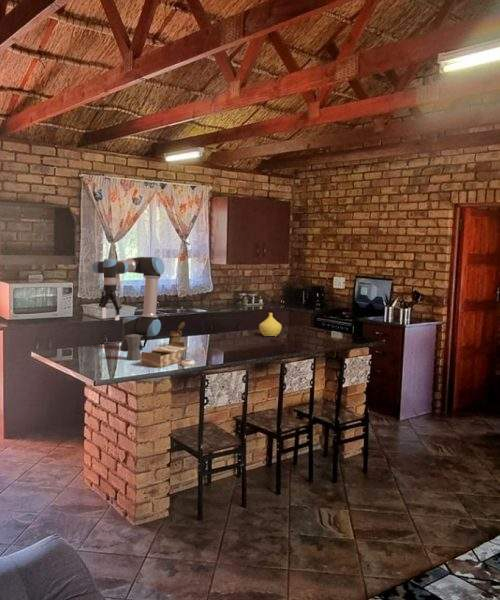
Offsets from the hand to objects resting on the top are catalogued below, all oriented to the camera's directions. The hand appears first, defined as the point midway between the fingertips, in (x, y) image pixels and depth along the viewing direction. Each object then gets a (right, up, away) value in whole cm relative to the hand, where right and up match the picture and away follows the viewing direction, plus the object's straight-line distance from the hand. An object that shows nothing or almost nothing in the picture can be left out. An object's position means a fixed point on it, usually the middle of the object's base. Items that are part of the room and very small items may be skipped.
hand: (110, 319), depth 340 cm
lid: (+35, -19, +10) cm, 42 cm away
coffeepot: (+12, -26, +15) cm, 33 cm away
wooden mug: (+32, -22, +62) cm, 73 cm away
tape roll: (+47, -28, 0) cm, 55 cm away
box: (+31, -27, +2) cm, 41 cm away
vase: (+102, -18, +119) cm, 158 cm away
